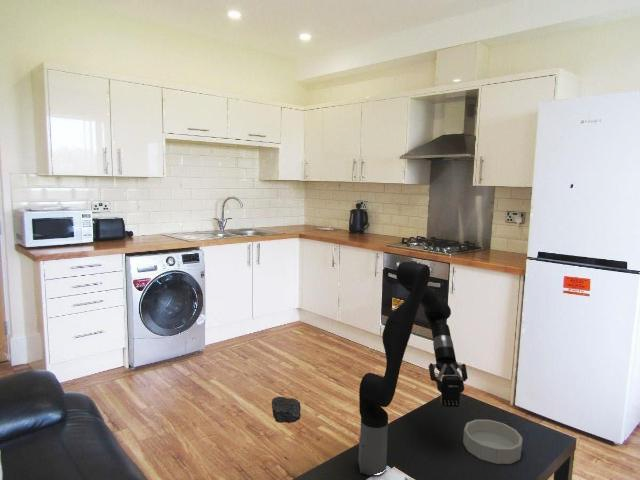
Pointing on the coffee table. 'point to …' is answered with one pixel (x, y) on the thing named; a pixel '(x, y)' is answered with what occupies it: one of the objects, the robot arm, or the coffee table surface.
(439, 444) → the coffee table surface
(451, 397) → the battery charger
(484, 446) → the bowl
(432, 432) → the coffee table surface
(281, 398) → the rock
